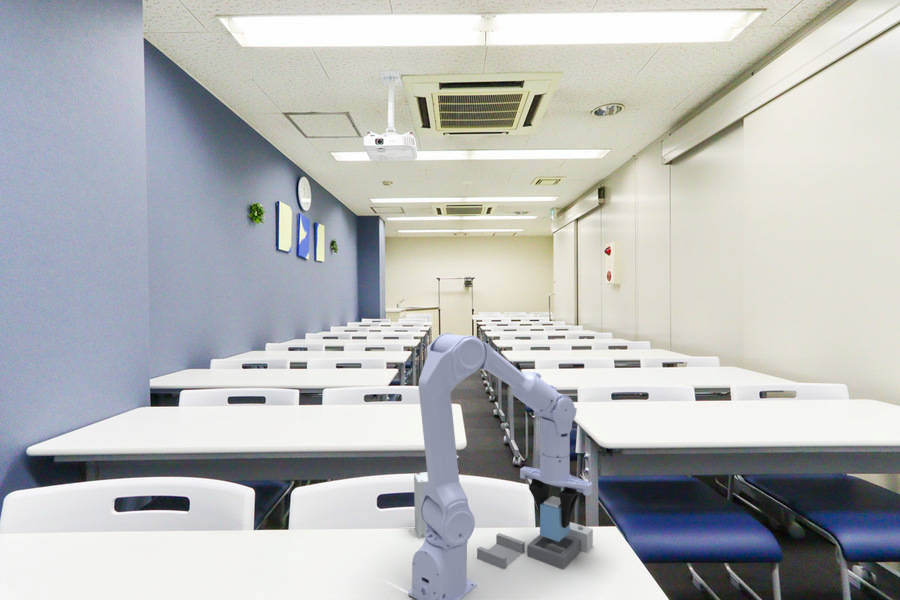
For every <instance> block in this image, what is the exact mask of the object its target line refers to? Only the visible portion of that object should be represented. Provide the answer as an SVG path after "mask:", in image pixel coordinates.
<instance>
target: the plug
mask: <svg viewBox="0 0 900 600" xmlns="http://www.w3.org/2000/svg"><path fill="white" fill-rule="evenodd" d="M561 516H562V510H561V502H560V497H559V496H554V495H552V496H550V497H548V499H547V500H546V501H544V502H543V503H542V504H540V516H539V535H540V536H543V537H546V538H549V539H552V540H555V541H558V542H559V541H560V540H562V539H563V538H564V537H565V536H566V535H567V534H568V533H569V532H570V524H569V525H568V526H567V527H566V528H563V527H562V524H561Z"/></svg>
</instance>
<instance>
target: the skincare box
mask: <svg viewBox="0 0 900 600" xmlns="http://www.w3.org/2000/svg"><path fill="white" fill-rule="evenodd" d="M413 478H414V479H413V483H414V484H413V486H414V487H413V488H414V529H415V531H416V534H417V538H418V539H425V537H426V522H424V521H423V519H422V517H421V514H420V505H421V502H422V499H423V487H424V486H425V485H426V484H427V483H428V474H427V471H425V472H424V471H423V472H416V473H414V474H413Z"/></svg>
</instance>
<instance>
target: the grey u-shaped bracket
mask: <svg viewBox="0 0 900 600" xmlns="http://www.w3.org/2000/svg"><path fill="white" fill-rule="evenodd" d="M495 536H496V542H495V544H493V545H492V546H491V547H490V548H488V549H487V548H485V547H482V546H479V547H477V548H476V558H477V560H480V561H483V562H486V563H488V564H490V565H493V566H495V567H496V568H497V567H498V568H499V569H503V570H505V569H506V568H507V567H508V566H509V565H511V564H512V563H513V562H514V561H516V559H518V558H519V557H520V556H521V555H522V554H524V553H525V549H526V548H525V547H526V544H525V543H526V542H525V541H523V540H520V539H517V538H514V537H511V536H509V535H506V534H503V533H500V532H498V533H497V534H496V535H495Z"/></svg>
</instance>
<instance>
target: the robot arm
mask: <svg viewBox="0 0 900 600" xmlns="http://www.w3.org/2000/svg"><path fill="white" fill-rule="evenodd" d="M426 354H427V357H426V359H425V362H424V364H423V368H422V370H421V373H420V376H419V379H418V394H419V402H420V403H419V404H420V413H421V414H420V415H421V424H422V433H423V442H424V451H425V452H424V453H425V463H426V472H427V474H428V483H427V484H426V485H425V486H424V487H423V499H422V502H421V505H420V514H421V517H422V519H423V521H424V522H426V537H425V538H424V541H423V543H422V545H421V546H420V548H419V549H418V550H417V551H416V552H415V553H414V555H413V557H412V562H411V563H412V567H411V574H412V575H411V577H412V578H411V589H410V590H408V593H407V594H408V596H410V597H412V598H414V599H415V600H462V598H464V597H465V596H466V595H467V594H469V593H470V592H472V591H473V590H474V589H475V588H476V587H477V586H478V583H476V582H475V581H473V580H471V579H468V577H467V576H468V574H467V573H468V570H467V569H468V540H469V539H470V538H471V536H473V535H472V534H473V532H474V531H475V524H476V522H475V521H476V520H475V515H474V514H473V512H472V511H471V509H470V507H469V501H468V500H469V499H468V497H467V495H466V492H465V491H464V489H463V486H462V484H461V483H460V476H459V467H458V456H457V447H456V437H455V435H456V434H455V426H454V414H453V406H452V395H451V392H452V391H453V390H454V389H455V387H456V386H457V385H458V384H459V383H461V382H462V381H463V380H465V379H466V378H468V377H469V376H471V375H472V374H474V373H475V372H478V370H483V371H484V370H485V371H486V372H488V373H490V374H491V375H493V376H494V377H496V378H497V379H499V380H501V381H502V382H504V383H505V384H506V385H509V386H510V387H511V391H512V395H513V397H514V398H516V399H518V401H520V402H522V403H523V404H525V405H526V406H527V407H529V408H530V409H532V410H533V411H534V414H535V415H536V417H537V418H540V419H539V421H540V422H539V423H540V424H539V425H540V426H539V428H540V429H539V434H540V435H539V436H540V437H539V439H540V440H539V442H540V444H539V449H540V450H539V452H540V453H539V456H540V457H539V468H537V467H536V468H535V467H530V466H529V467H528V466H523V467H521V468H520V469H519V470H520V471H519V472H520V473H519V478H520V479H522V480H526V479H527V480H530V481H531V482H530V484H529V485H528V490H529V492H530V493H531V496H532V498H533V499H534V502H535V505H536V507H537V512H538V515H539V517H540V504H542V503H543V502H544V501H546V500H547V499H549V496H550V495H549V494H550V487H551V486H553V487H558V488H562V489H563V490H561V491H560V492H559V493H558V498H560V502H561V510H562V516H561V524H562V527H563V528H566V527H567V526H568V525H569V524H570V522H571V517H572V514H573V511H574V508H575V505H576V502H577V501H578V498H579V496H580V494H583V496H587V497H589V496H590V495H591V494H593V482H590V481H587V480H584V479H581V478H579V477H577V476H575V475H572V474H571V473H570V471H571V470H570V466H571V465H570V457H571V456H570V454H571V452H570V450H571V449H570V448H571V447H570V441H571V437H570V436H571V435H570V434H571V431H572V430H573V428H572V427H573V421H574V420H575V418H576V417H577V416H576V415H577V412H578V411H577V410H578V409H577V407H575V403H574V402H573V400H572V398H571V397H570V396H569V395H567V394H563V393H559V392H558V391H557V387H556V386H555V385H551V384H548V383H547V382H546V381H544V380H543V379H541V377H542V375H541V374H540V373H539V372H537V371H525V372H521V370H520V369H518V368H517V367H516V366H515V365H513V364H512V363H511V362H510V361H508V360H507V359H506V358H504V357H503V356H502V355H501V354H500V353H498V351H496V350H495V349H494V348H493V347H492V346H491V345H490V344H489V343H486V342H485V341H482V340H481V339H480V338H479V337H477V336H475V335H463V334H453V333H451V332H445V333H441V334H439V335H438V336H436V337H435V338H434V339H433V340H432V342H431V343H430V344H429V345H428V346H427V347H426Z"/></svg>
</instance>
